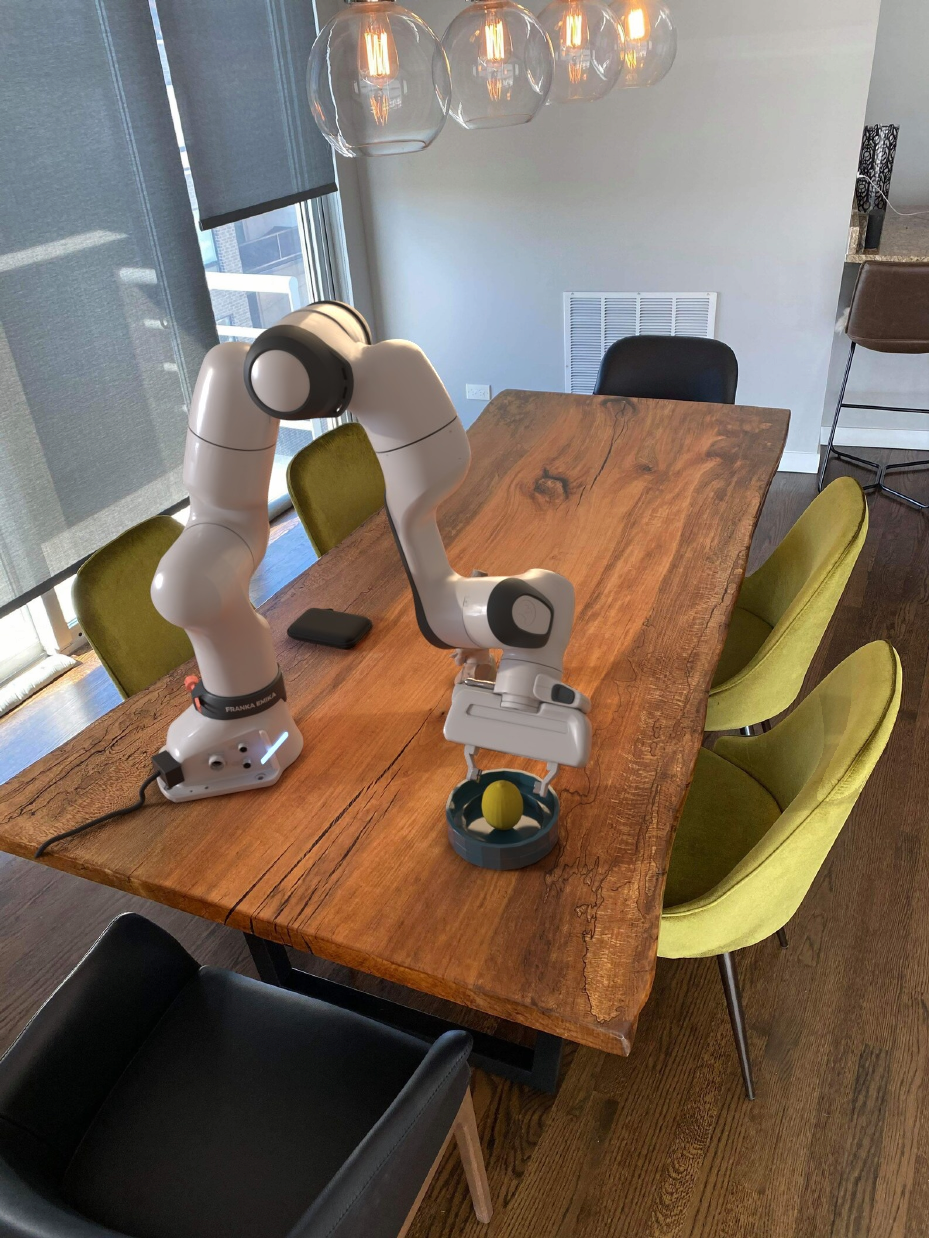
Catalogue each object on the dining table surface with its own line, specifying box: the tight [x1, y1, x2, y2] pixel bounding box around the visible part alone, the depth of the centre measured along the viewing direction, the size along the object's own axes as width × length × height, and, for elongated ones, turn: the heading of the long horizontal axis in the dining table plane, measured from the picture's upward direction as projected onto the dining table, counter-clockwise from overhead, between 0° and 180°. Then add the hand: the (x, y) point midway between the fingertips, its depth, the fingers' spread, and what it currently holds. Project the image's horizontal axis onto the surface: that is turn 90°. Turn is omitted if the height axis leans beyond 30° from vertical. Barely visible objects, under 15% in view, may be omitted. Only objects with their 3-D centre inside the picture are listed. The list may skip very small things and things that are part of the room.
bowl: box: [444, 767, 561, 871], centre depth 123 cm, size 15×15×4 cm
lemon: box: [482, 780, 523, 830], centre depth 122 cm, size 6×6×8 cm
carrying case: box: [286, 607, 374, 651], centre depth 170 cm, size 11×3×15 cm
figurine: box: [448, 568, 499, 688], centre depth 150 cm, size 9×8×20 cm
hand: (505, 788), depth 122 cm, fingers open, 8 cm apart
